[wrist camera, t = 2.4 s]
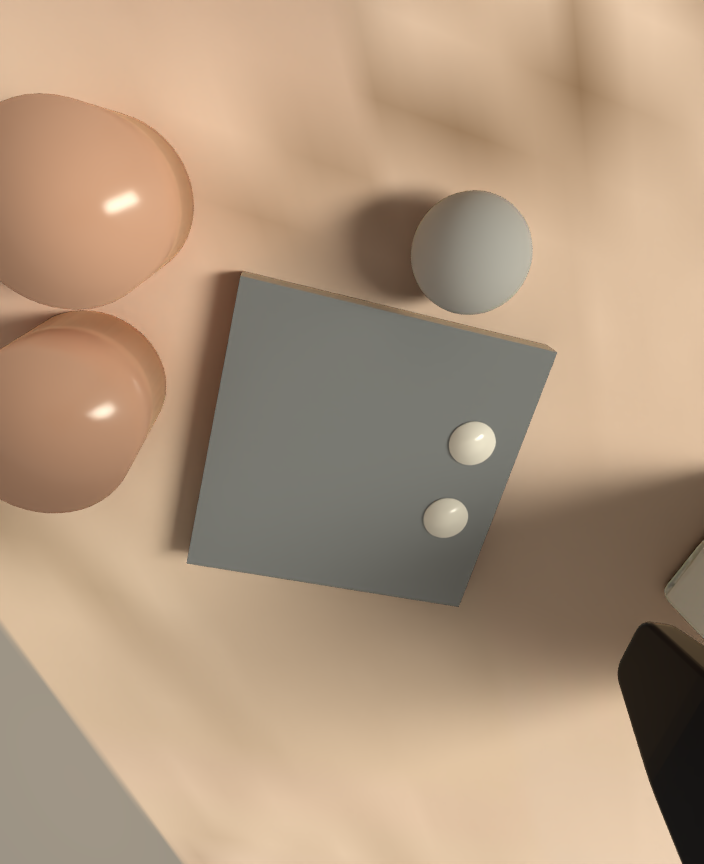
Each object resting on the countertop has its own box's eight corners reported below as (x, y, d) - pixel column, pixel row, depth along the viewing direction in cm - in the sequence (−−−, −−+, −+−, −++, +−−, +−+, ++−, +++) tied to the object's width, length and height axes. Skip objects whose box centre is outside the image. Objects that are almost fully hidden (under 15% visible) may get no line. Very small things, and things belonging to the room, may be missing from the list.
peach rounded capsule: (205, 136, 16) (178, 127, 12) (181, 293, 17) (150, 328, 13) (36, 89, 15) (-48, 65, 11) (26, 257, 16) (-51, 284, 13)
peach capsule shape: (175, 328, 17) (144, 371, 14) (156, 456, 19) (122, 526, 15) (23, 294, 17) (-52, 331, 13) (15, 430, 18) (-55, 496, 15)
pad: (546, 345, 18) (558, 352, 18) (453, 591, 22) (459, 608, 21) (242, 271, 17) (240, 276, 16) (190, 548, 20) (186, 564, 19)
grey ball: (525, 205, 17) (570, 212, 14) (489, 312, 18) (524, 339, 15) (420, 175, 16) (445, 176, 14) (389, 287, 17) (407, 310, 15)
